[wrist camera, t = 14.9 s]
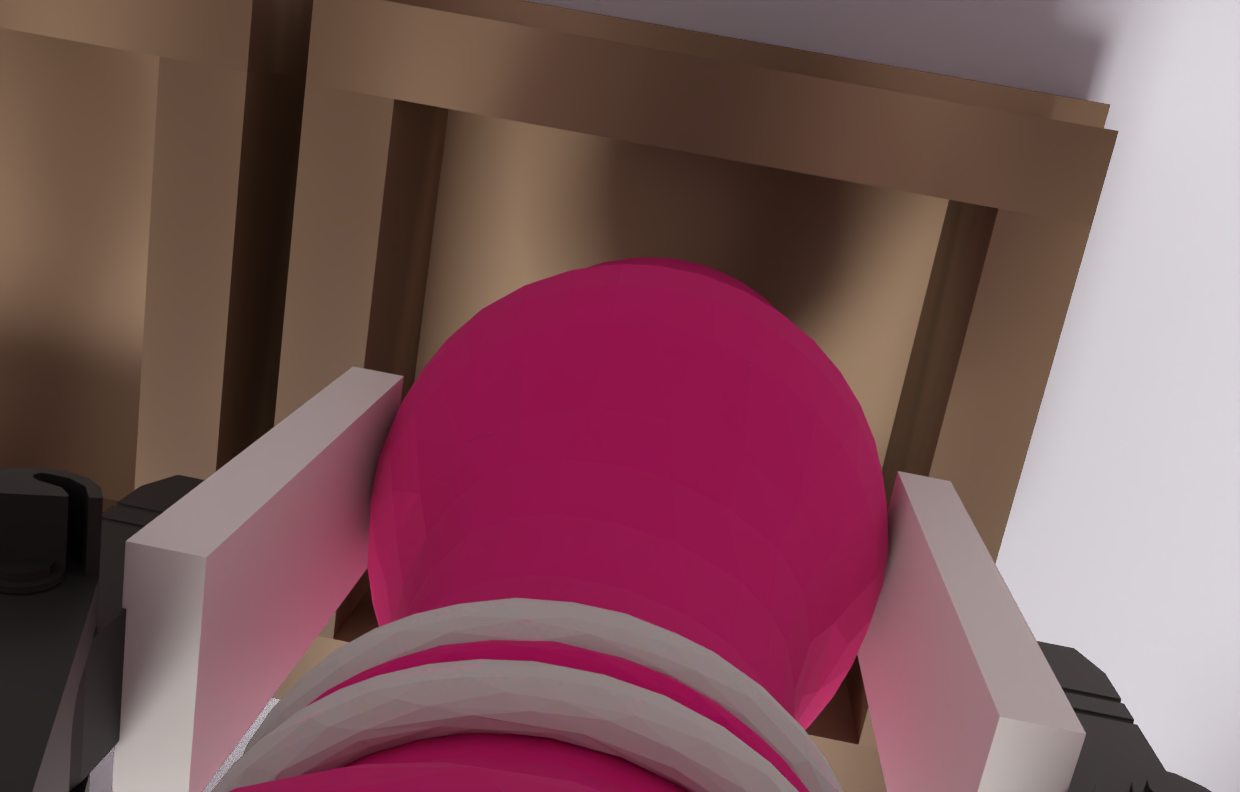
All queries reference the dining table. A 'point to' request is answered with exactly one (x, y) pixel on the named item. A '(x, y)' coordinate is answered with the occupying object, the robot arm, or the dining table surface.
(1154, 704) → the dining table surface
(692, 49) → the wooden divided tray
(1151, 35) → the dining table surface
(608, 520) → the pepper mill
